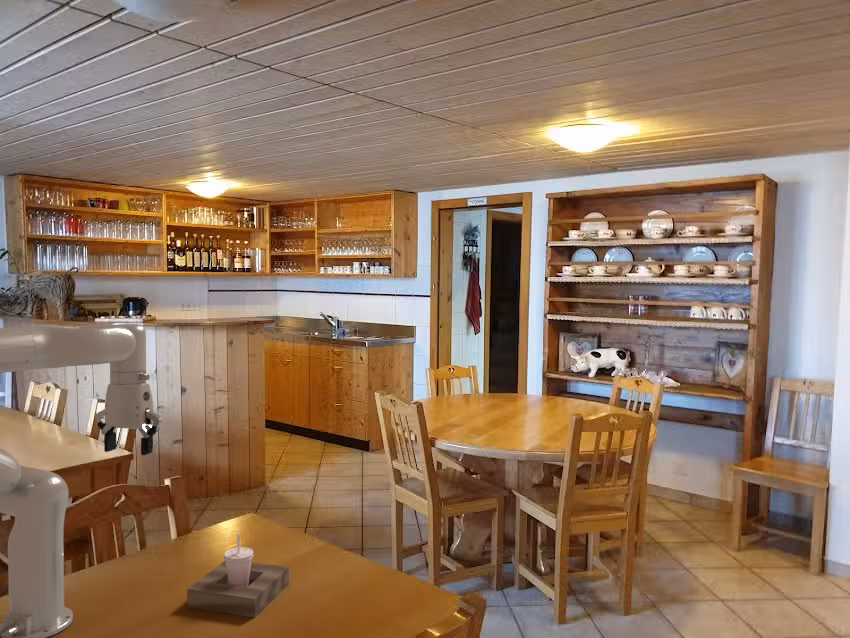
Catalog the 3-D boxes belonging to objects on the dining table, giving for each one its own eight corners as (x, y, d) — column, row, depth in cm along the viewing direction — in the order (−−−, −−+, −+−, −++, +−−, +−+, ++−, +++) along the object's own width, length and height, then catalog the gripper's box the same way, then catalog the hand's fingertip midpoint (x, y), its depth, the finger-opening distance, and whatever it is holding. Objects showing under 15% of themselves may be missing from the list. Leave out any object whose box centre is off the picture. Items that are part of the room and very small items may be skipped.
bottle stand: (254, 617, 136) (255, 598, 135) (187, 607, 139) (187, 588, 139) (288, 583, 151) (289, 567, 151) (227, 575, 155) (227, 558, 155)
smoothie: (222, 603, 141) (223, 540, 141) (224, 589, 148) (224, 529, 147) (253, 600, 143) (253, 537, 142) (253, 586, 149) (253, 527, 149)
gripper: (171, 378, 150) (171, 451, 151) (107, 374, 154) (108, 445, 155) (150, 382, 143) (150, 459, 144) (83, 378, 147) (84, 453, 148)
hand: (128, 452), depth 150 cm, fingers open, 9 cm apart
